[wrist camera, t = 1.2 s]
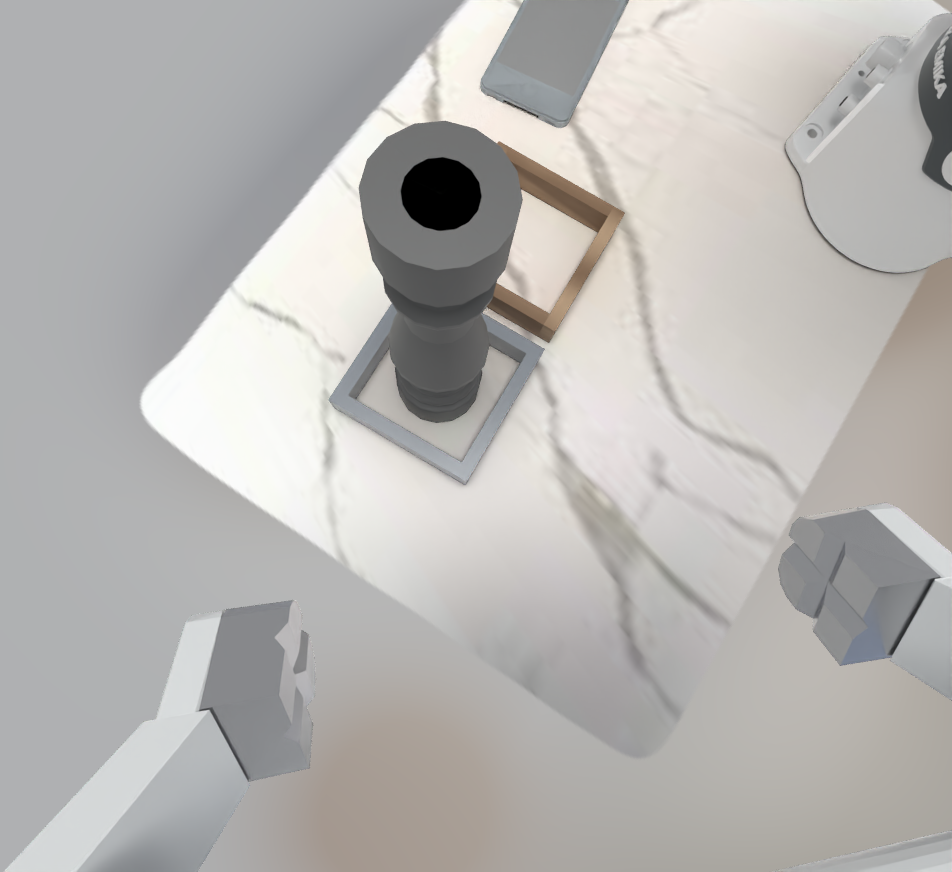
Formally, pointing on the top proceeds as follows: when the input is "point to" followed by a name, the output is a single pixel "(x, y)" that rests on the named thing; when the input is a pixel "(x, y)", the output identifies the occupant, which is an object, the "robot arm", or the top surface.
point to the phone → (551, 55)
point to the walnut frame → (575, 206)
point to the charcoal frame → (458, 470)
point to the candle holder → (439, 255)
